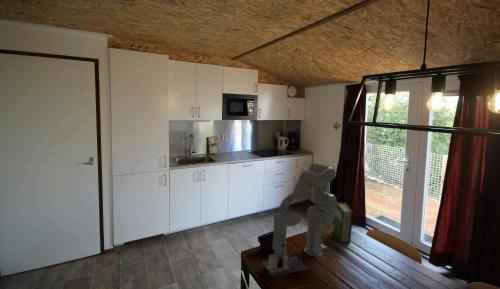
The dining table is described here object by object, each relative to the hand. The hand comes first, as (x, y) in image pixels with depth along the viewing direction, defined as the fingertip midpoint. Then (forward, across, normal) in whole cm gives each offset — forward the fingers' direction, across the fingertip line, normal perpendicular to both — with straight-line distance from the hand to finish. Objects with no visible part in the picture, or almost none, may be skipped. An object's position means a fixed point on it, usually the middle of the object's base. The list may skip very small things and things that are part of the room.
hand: (278, 264), depth 149 cm
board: (+4, +1, -5) cm, 6 cm away
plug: (+1, 0, -3) cm, 3 cm away
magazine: (+4, +18, -1) cm, 19 cm away
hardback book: (+3, +23, -64) cm, 68 cm away
